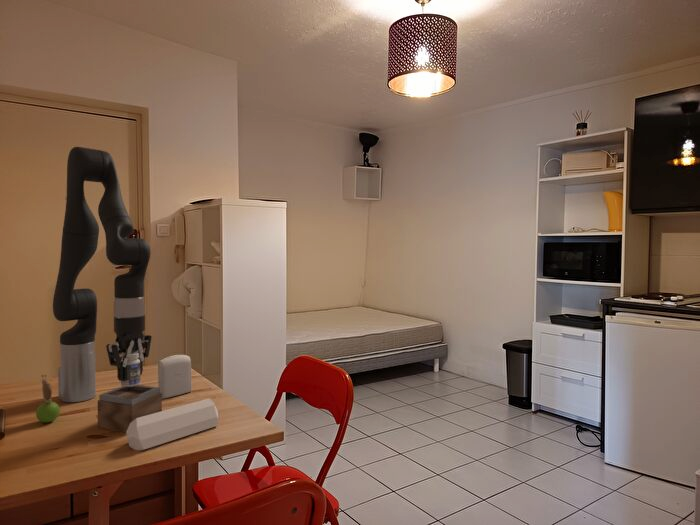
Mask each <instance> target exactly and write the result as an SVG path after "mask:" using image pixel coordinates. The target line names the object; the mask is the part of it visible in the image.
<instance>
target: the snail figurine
mask: <svg viewBox="0 0 700 525" xmlns="http://www.w3.org/2000/svg"><path fill="white" fill-rule="evenodd" d="M47 376H48V375H47V374H41V377H42V381H41V384H42V386H41V387H42V388H41V389H42V396H43V401H44V402H42V403H41V404H40V405H39V406H38V407H37V409H36V411H35V416H36V419H37V420H38V421H39V422H41V423H45V424H46V423H52V422H53V421H55V420H56V419H57V418H58V417H59V416H60V413H61V408H60V405H59V404H58V403H57V402H55V401H52V399H51V398H52V393H53V392H52V391H53V390H52V385H51V384H50V383H49V382H48V380H47ZM44 377H45V378H44Z"/></svg>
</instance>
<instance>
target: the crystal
mask: <svg viewBox="0 0 700 525" xmlns="http://www.w3.org/2000/svg"><path fill="white" fill-rule="evenodd" d="M218 424H219V410H218V409H217V407H216V404H215V403H214V401H213V400H212V399H211V398H210V397H209V398H205V399H202V400H201V399H200V400H198V401H195V402H190V403H187V404H184V405H179V406H176V407H172V408H169V409H166V410H162V411H161V412H157V413H154V414H150V415H146V416H143V417H139V418H136V419H135V420H134V421H132V422H131V423H130V425H129V427H128V429H127V431H126V432H125V434H126V439H127V443H128V446H129V447H130V448H131V449H132V450H135V451H143V450H144V451H145V450H147V449H150V448H153V447H156V446H159V445H162V444H165V443H168V442H169V443H170V442H172V441H174V440H177V439H181V438H184V437H187V436H190V435H192V434H196V433H199V432H203V431H205V430H209V429H212V428H214V427H217V426H218Z"/></svg>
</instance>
